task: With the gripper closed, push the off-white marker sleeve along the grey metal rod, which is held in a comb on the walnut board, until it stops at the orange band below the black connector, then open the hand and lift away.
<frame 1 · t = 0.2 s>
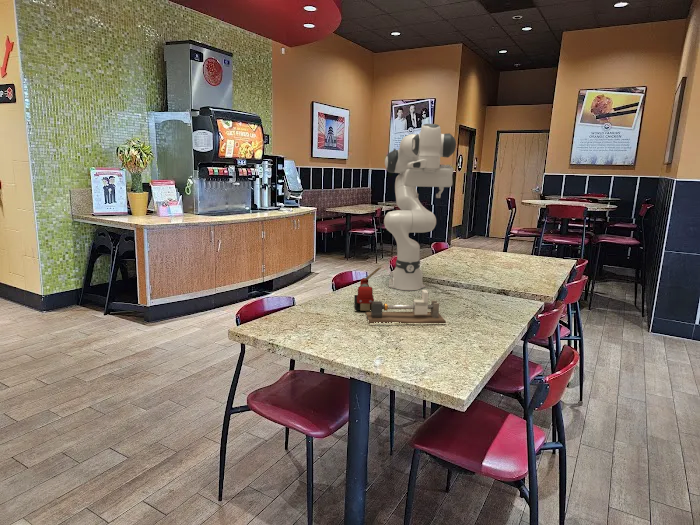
hand: (427, 197, 194), 47 cm above the table, tool pointing down, fingers open, 8 cm apart
toy fire truck: (367, 307, 200), on the table
board: (404, 320, 184), on the table
rod: (404, 309, 184), point 4 cm above the table
sleeve: (420, 302, 183), point 7 cm above the table, slide at 0.0 cm
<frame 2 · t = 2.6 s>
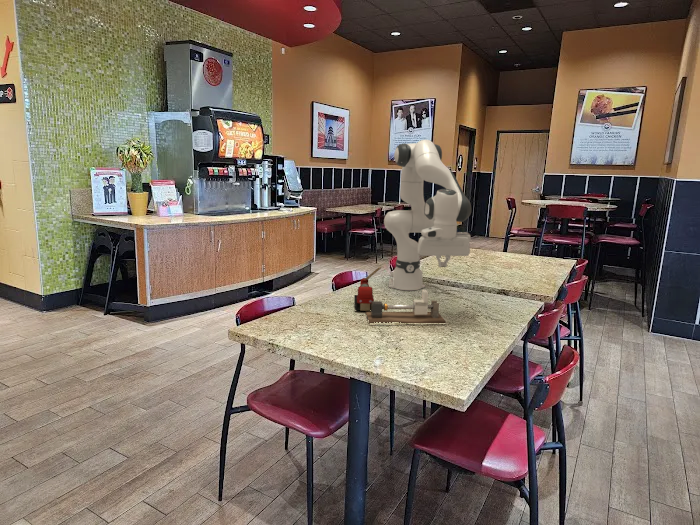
hand: (442, 266, 181), 22 cm above the table, tool pointing down, fingers closed
nothing on the table moved.
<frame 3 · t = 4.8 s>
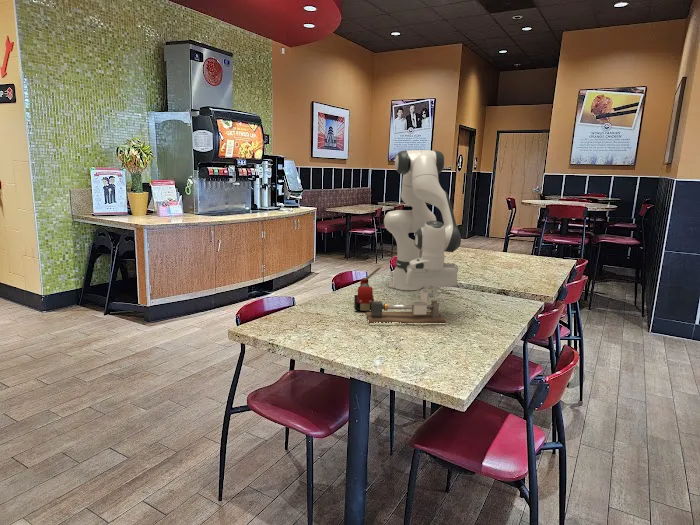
hand: (430, 297, 183), 10 cm above the table, tool pointing down, fingers closed
sleeve: (419, 302, 183), point 7 cm above the table, slide at 0.4 cm, touching gripper
everything else where it was.
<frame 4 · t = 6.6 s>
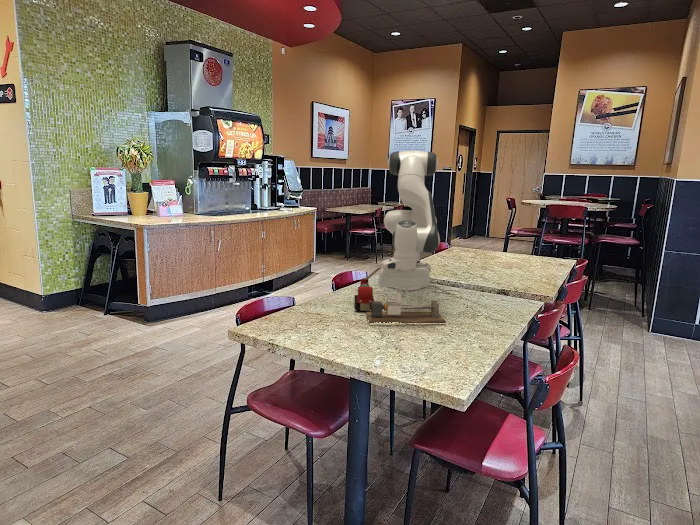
hand: (403, 297, 182), 10 cm above the table, tool pointing down, fingers closed
sleeve: (393, 302, 182), point 7 cm above the table, slide at 10.9 cm, touching gripper
everything else where it was.
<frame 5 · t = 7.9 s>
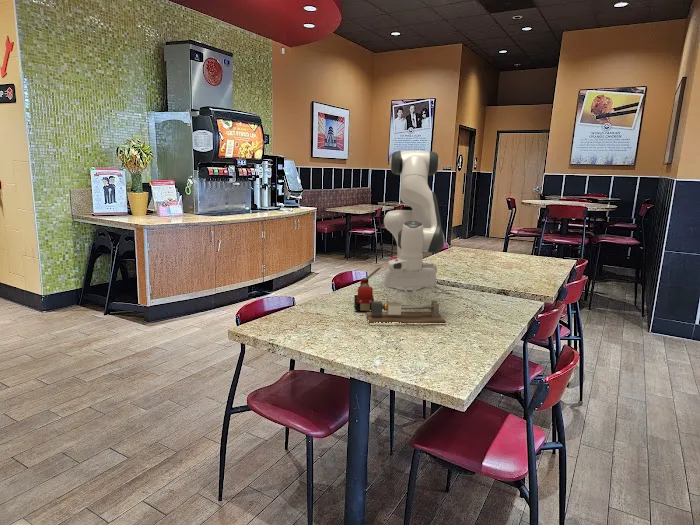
hand: (409, 297, 183), 9 cm above the table, tool pointing down, fingers closed
sleeve: (394, 302, 183), point 7 cm above the table, slide at 10.6 cm
everything else where it was.
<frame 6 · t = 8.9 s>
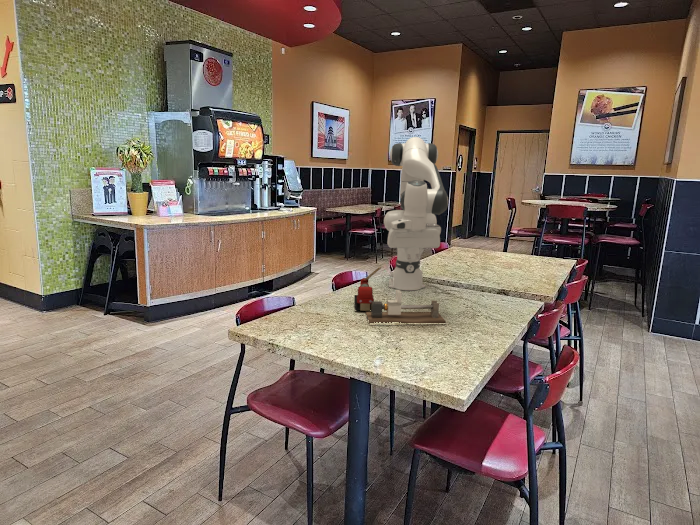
hand: (412, 259, 179), 25 cm above the table, tool pointing down, fingers open, 3 cm apart
nothing on the table moved.
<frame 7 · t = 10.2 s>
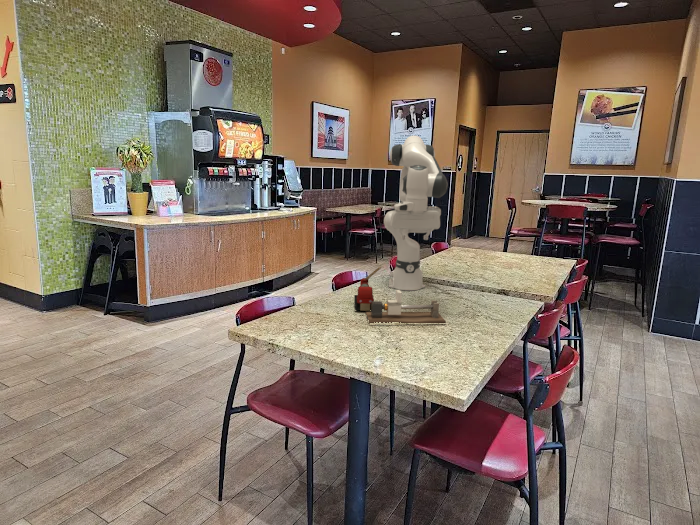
hand: (414, 239, 190), 31 cm above the table, tool pointing down, fingers open, 8 cm apart
nothing on the table moved.
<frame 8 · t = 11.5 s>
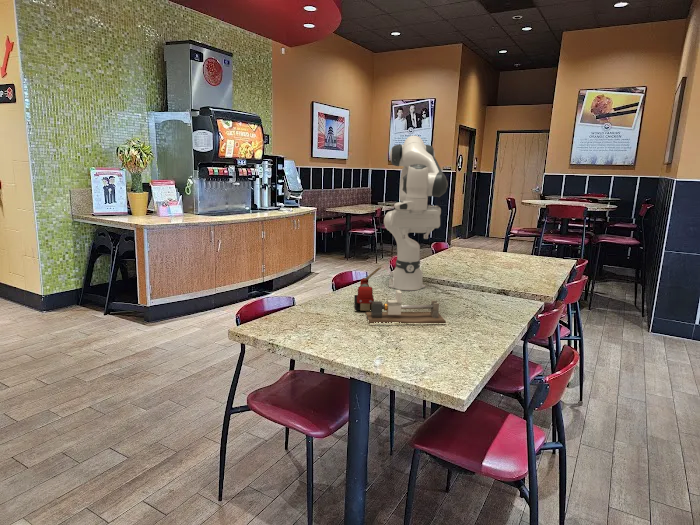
hand: (414, 238, 190), 31 cm above the table, tool pointing down, fingers open, 8 cm apart
nothing on the table moved.
at the end: sleeve slide at 10.6 cm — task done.
